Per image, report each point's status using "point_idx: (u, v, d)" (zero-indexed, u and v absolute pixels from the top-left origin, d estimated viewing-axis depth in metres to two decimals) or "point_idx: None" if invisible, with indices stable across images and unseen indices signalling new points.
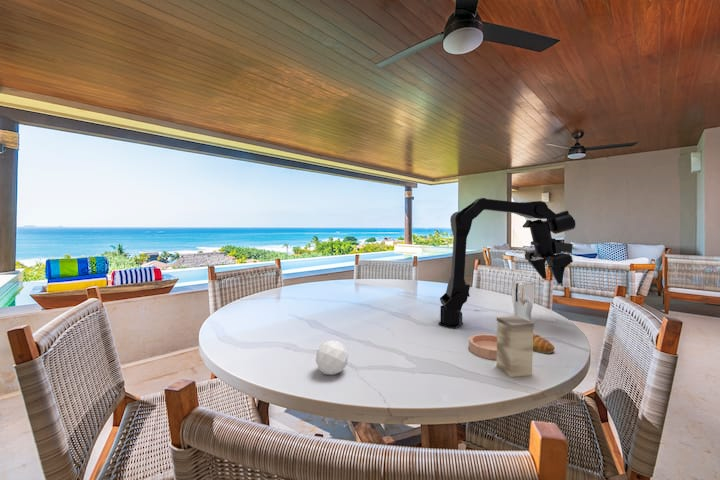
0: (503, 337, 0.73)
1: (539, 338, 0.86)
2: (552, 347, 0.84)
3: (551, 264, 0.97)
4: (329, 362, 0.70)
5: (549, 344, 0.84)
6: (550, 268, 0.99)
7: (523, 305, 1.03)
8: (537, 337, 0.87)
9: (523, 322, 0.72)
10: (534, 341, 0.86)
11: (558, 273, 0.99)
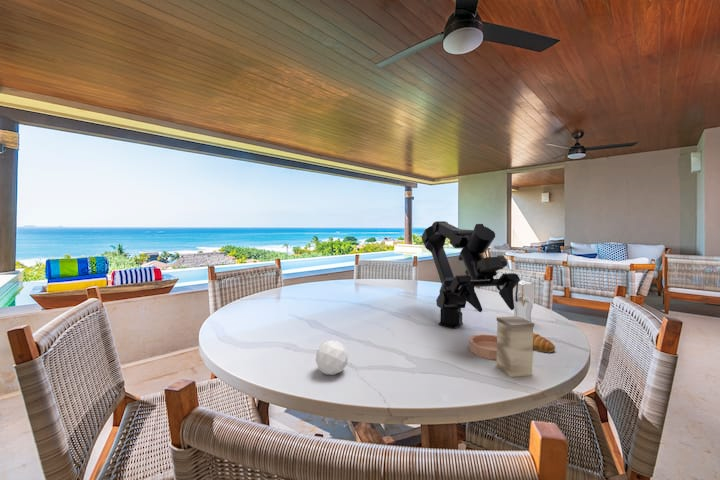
0: (503, 337, 0.73)
1: (540, 337, 0.87)
2: (553, 346, 0.84)
3: None
4: (329, 362, 0.70)
5: (550, 343, 0.85)
6: None
7: (523, 305, 1.03)
8: (538, 336, 0.87)
9: (523, 322, 0.72)
10: (535, 340, 0.86)
11: (470, 299, 0.82)
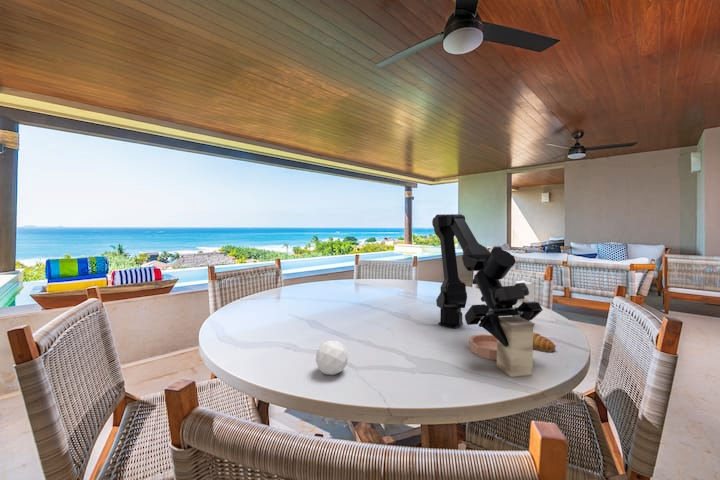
0: None
1: (540, 337, 0.87)
2: (553, 345, 0.85)
3: None
4: (329, 362, 0.70)
5: (550, 342, 0.85)
6: None
7: None
8: (538, 336, 0.88)
9: (523, 322, 0.72)
10: (536, 340, 0.86)
11: (494, 332, 0.75)
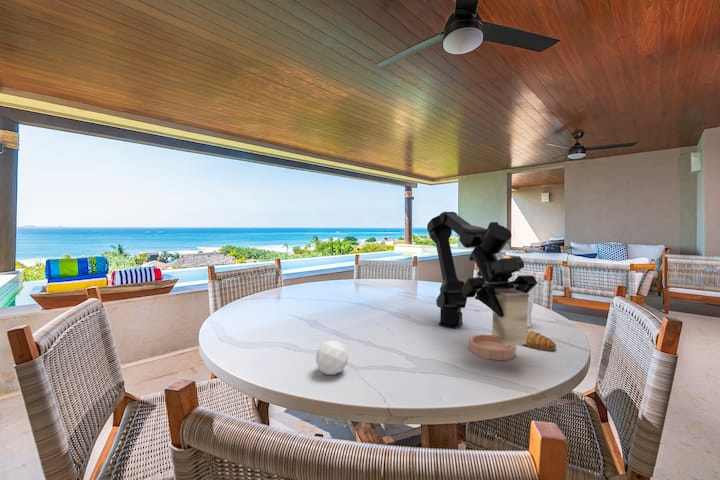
0: None
1: (541, 336, 0.88)
2: (554, 344, 0.85)
3: None
4: (329, 362, 0.70)
5: (551, 341, 0.86)
6: None
7: None
8: (539, 335, 0.88)
9: (518, 293, 0.74)
10: (536, 339, 0.87)
11: (490, 303, 0.77)
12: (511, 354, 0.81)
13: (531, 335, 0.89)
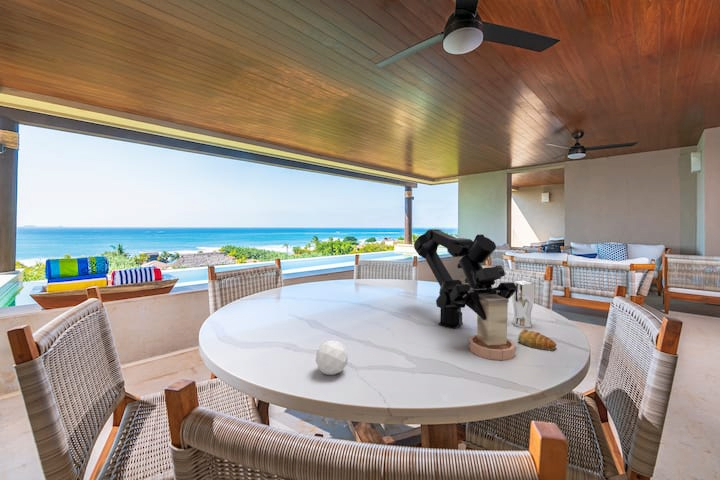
0: None
1: (541, 335, 0.88)
2: (554, 344, 0.86)
3: None
4: (329, 363, 0.70)
5: (551, 341, 0.86)
6: None
7: (523, 305, 1.03)
8: (539, 335, 0.89)
9: (499, 298, 0.83)
10: (537, 339, 0.87)
11: (475, 307, 0.86)
12: (511, 354, 0.81)
13: (532, 335, 0.89)
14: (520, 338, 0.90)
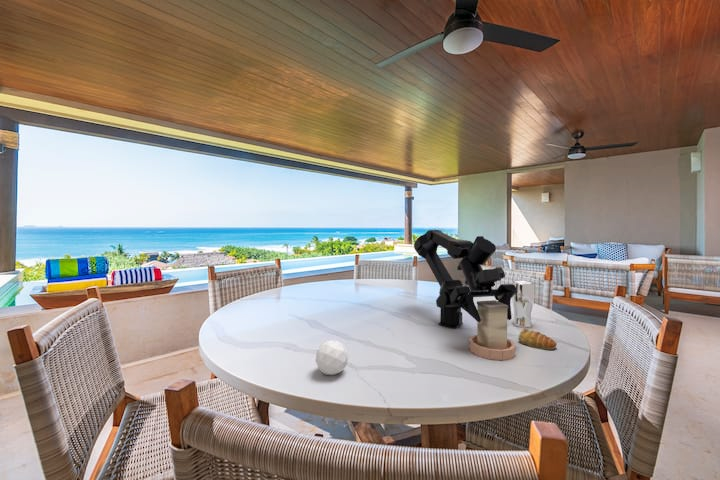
0: (482, 318, 0.85)
1: (541, 335, 0.89)
2: (555, 343, 0.86)
3: None
4: (329, 363, 0.70)
5: (552, 340, 0.87)
6: None
7: (523, 305, 1.03)
8: (539, 334, 0.89)
9: (499, 304, 0.83)
10: (537, 338, 0.88)
11: (469, 310, 0.86)
12: (511, 354, 0.81)
13: (532, 334, 0.89)
14: (520, 338, 0.90)
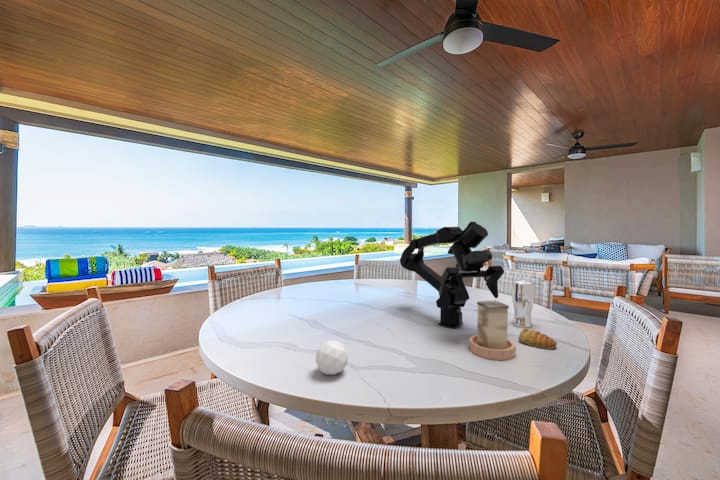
0: (482, 318, 0.85)
1: (541, 334, 0.89)
2: (555, 342, 0.87)
3: None
4: (329, 362, 0.70)
5: (552, 340, 0.87)
6: None
7: (523, 305, 1.03)
8: (539, 334, 0.89)
9: (499, 305, 0.83)
10: (538, 338, 0.88)
11: (459, 289, 0.92)
12: (511, 354, 0.81)
13: (532, 334, 0.89)
14: (521, 337, 0.91)
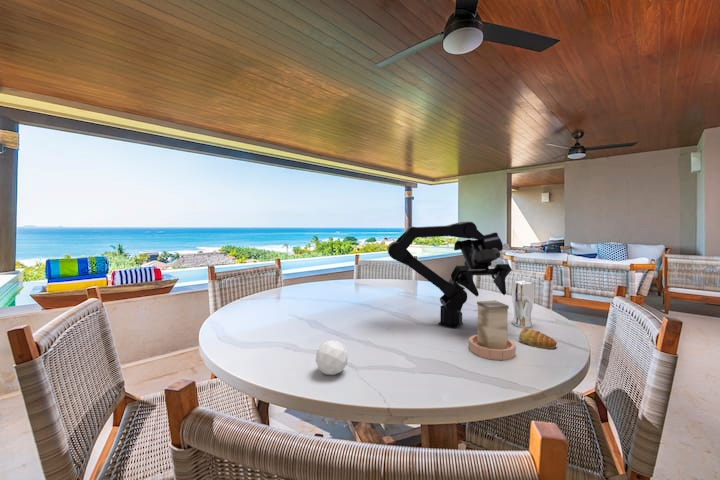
0: (482, 318, 0.85)
1: (541, 334, 0.89)
2: (555, 342, 0.87)
3: None
4: (329, 362, 0.70)
5: (552, 339, 0.87)
6: None
7: (523, 305, 1.03)
8: (539, 333, 0.90)
9: (499, 305, 0.83)
10: (538, 337, 0.88)
11: (468, 286, 0.96)
12: (511, 354, 0.81)
13: (532, 333, 0.90)
14: (521, 337, 0.91)
